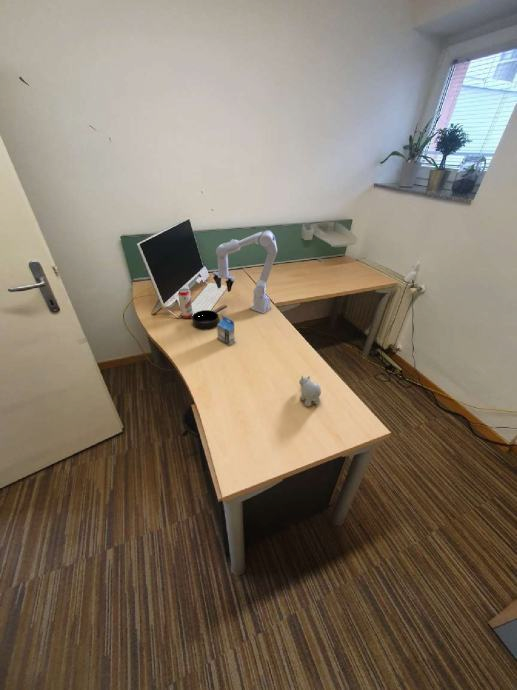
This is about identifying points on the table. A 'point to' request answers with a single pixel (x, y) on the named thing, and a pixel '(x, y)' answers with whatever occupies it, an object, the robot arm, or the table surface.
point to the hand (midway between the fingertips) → (224, 289)
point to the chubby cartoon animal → (309, 391)
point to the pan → (207, 318)
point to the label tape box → (226, 330)
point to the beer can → (185, 303)
